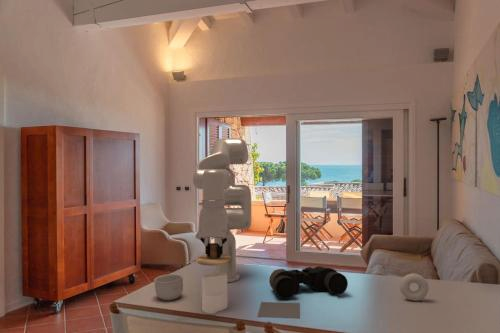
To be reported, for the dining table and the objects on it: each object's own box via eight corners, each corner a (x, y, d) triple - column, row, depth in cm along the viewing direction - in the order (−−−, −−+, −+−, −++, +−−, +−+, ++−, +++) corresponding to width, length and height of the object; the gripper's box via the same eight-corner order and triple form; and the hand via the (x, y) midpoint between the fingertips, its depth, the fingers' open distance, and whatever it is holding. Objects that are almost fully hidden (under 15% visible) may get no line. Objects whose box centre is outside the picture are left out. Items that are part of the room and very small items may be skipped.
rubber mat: (261, 304, 143) (261, 301, 143) (299, 305, 141) (299, 303, 141) (257, 319, 129) (257, 316, 129) (299, 320, 127) (299, 318, 127)
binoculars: (276, 303, 143) (275, 275, 144) (262, 290, 163) (261, 265, 164) (348, 296, 149) (347, 269, 150) (327, 284, 169) (326, 261, 170)
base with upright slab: (207, 315, 133) (207, 280, 133) (198, 306, 141) (198, 273, 141) (231, 310, 137) (231, 276, 137) (221, 302, 145) (221, 270, 145)
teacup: (176, 303, 144) (176, 282, 144) (149, 301, 147) (149, 280, 147) (190, 291, 158) (189, 271, 158) (164, 290, 160) (164, 270, 160)
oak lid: (201, 257, 145) (201, 240, 145) (233, 257, 144) (233, 240, 144) (193, 265, 133) (193, 247, 133) (228, 265, 132) (227, 247, 132)
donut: (427, 299, 145) (427, 272, 145) (429, 303, 142) (429, 275, 142) (399, 298, 148) (398, 271, 147) (400, 301, 144) (400, 274, 144)
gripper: (188, 205, 136) (188, 258, 136) (234, 205, 134) (235, 259, 134) (193, 203, 143) (194, 253, 143) (238, 203, 141) (238, 254, 141)
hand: (214, 256), depth 139 cm, fingers closed on oak lid, 3 cm apart
